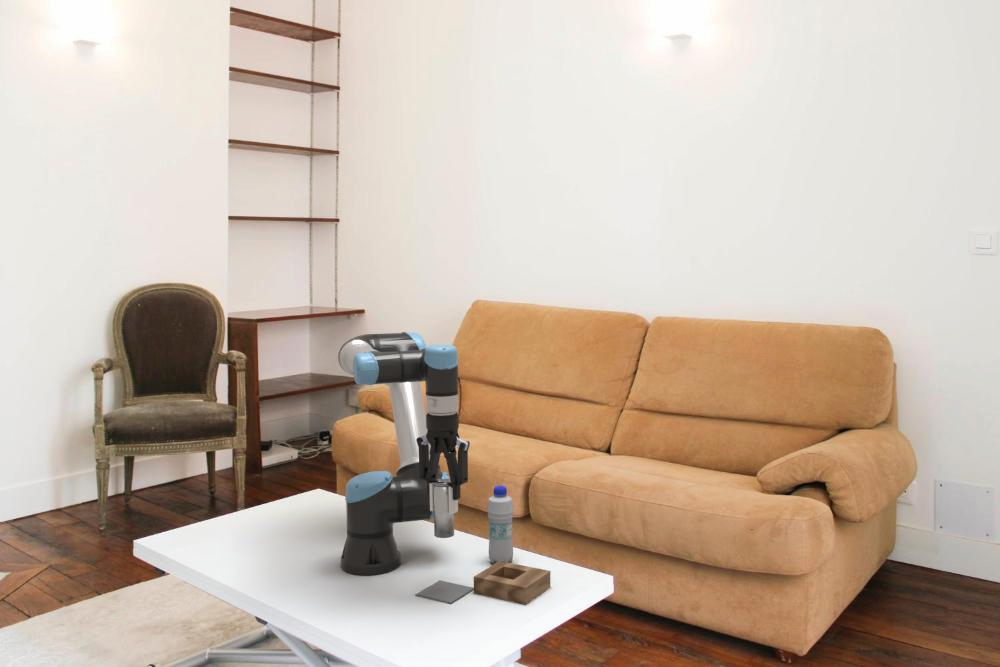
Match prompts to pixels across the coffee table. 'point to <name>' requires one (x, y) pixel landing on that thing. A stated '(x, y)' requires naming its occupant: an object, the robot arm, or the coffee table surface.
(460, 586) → the mat
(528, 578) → the housing
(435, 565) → the coffee table surface
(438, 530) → the shiny metal cylinder
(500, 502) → the bottle
